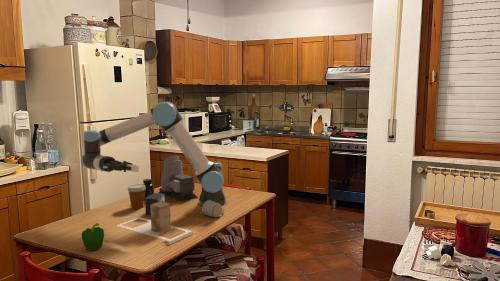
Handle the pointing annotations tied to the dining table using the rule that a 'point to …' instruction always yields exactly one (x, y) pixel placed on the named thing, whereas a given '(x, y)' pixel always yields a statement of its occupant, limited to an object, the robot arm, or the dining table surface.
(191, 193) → the juicer
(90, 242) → the bell pepper
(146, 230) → the trap board
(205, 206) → the ceramic mug
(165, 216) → the walnut block
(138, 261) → the dining table surface
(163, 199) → the small box
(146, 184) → the supplement bottle
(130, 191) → the disposable coffee cup
